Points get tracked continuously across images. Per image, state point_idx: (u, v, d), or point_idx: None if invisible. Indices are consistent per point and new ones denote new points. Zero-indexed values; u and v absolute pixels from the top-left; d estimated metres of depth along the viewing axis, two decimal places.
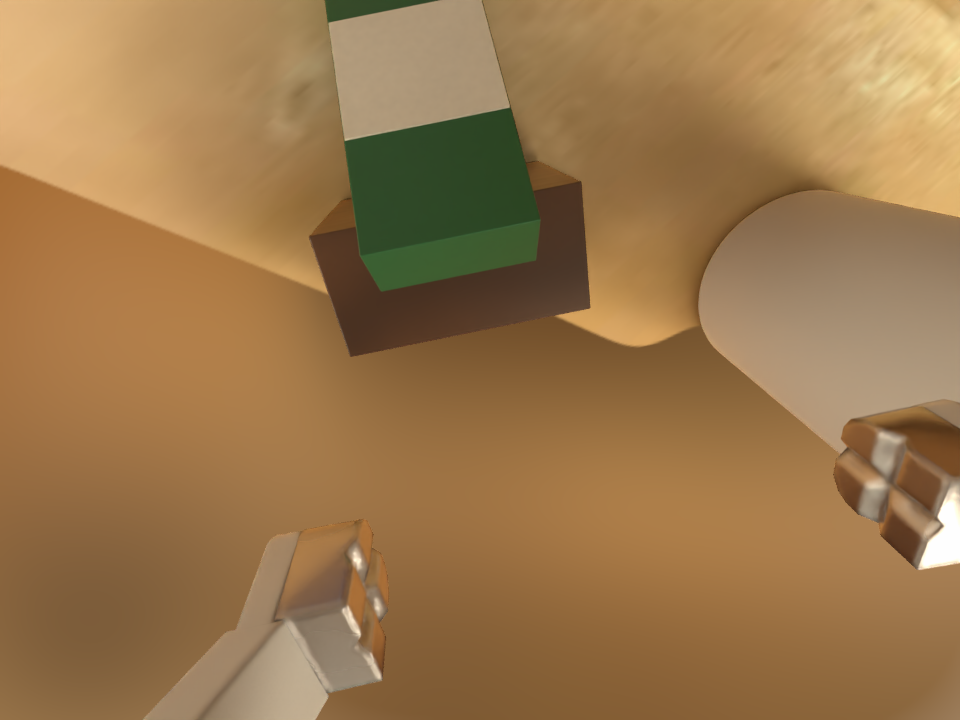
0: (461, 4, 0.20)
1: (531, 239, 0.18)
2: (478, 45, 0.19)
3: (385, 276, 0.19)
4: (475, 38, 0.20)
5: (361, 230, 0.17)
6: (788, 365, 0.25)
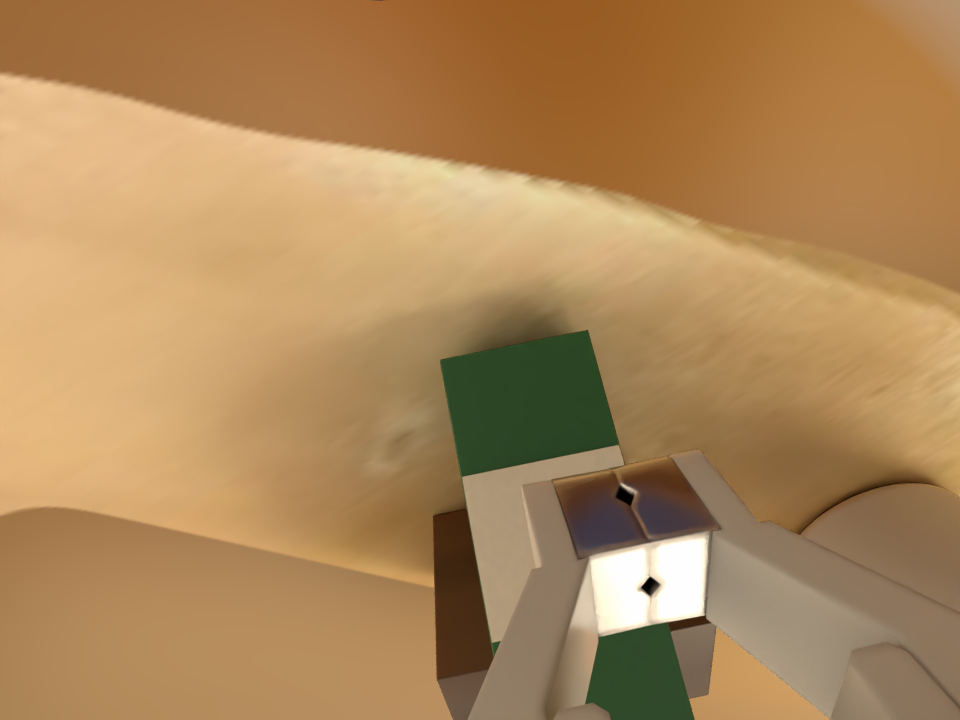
0: (601, 461, 0.19)
1: None
2: None
3: None
4: None
5: None
6: None
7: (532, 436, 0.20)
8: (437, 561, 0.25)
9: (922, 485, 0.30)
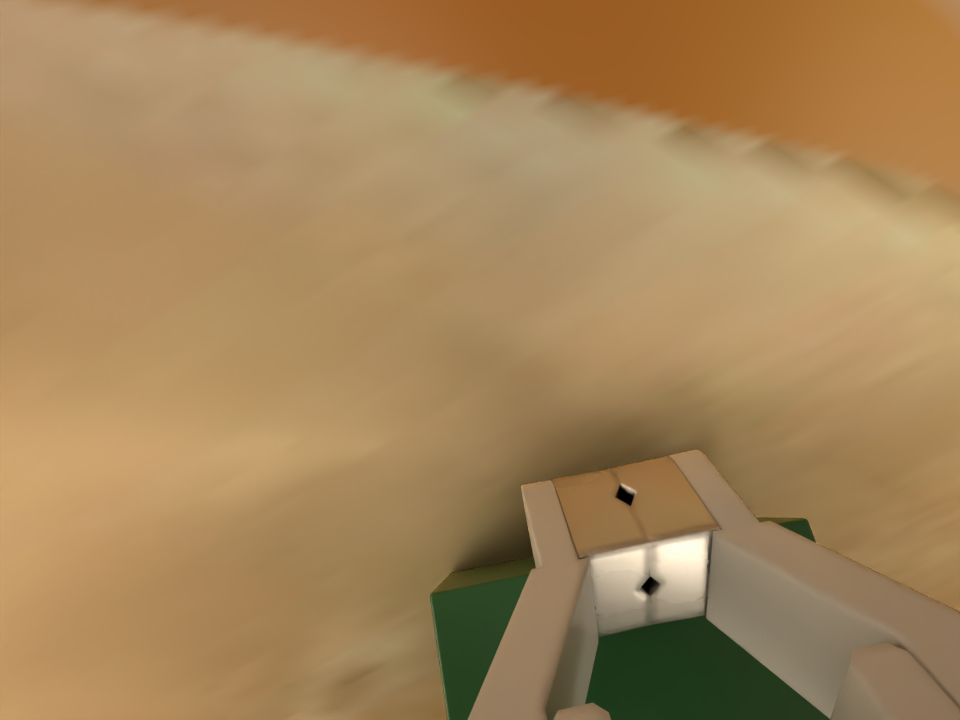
0: None
1: None
2: None
3: None
4: None
5: None
6: None
7: None
8: None
9: None
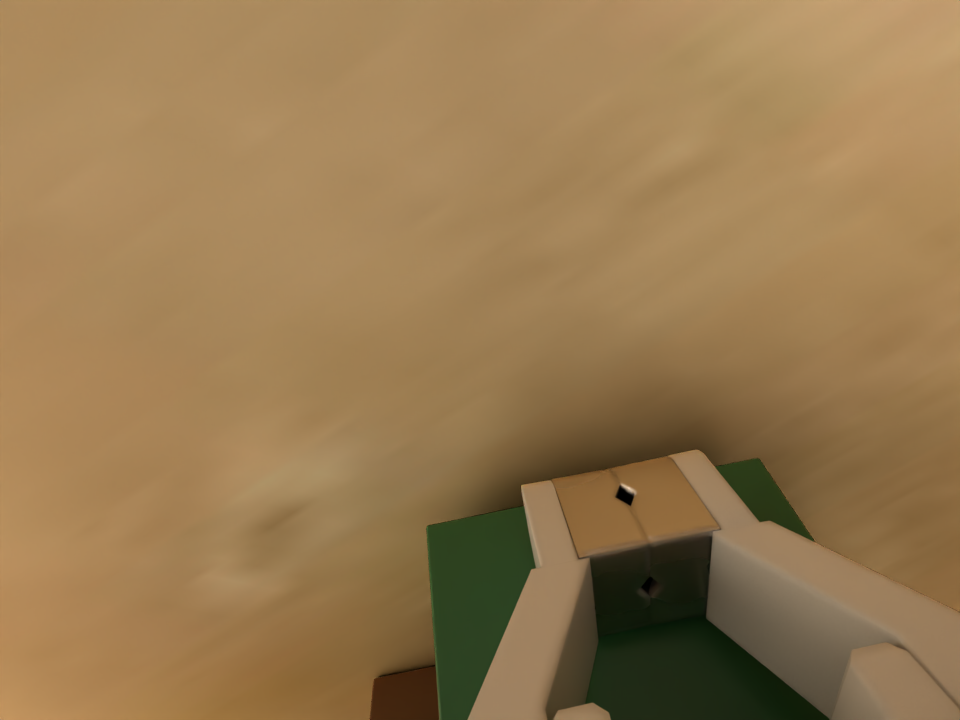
0: None
1: None
2: None
3: None
4: None
5: None
6: None
7: None
8: None
9: None
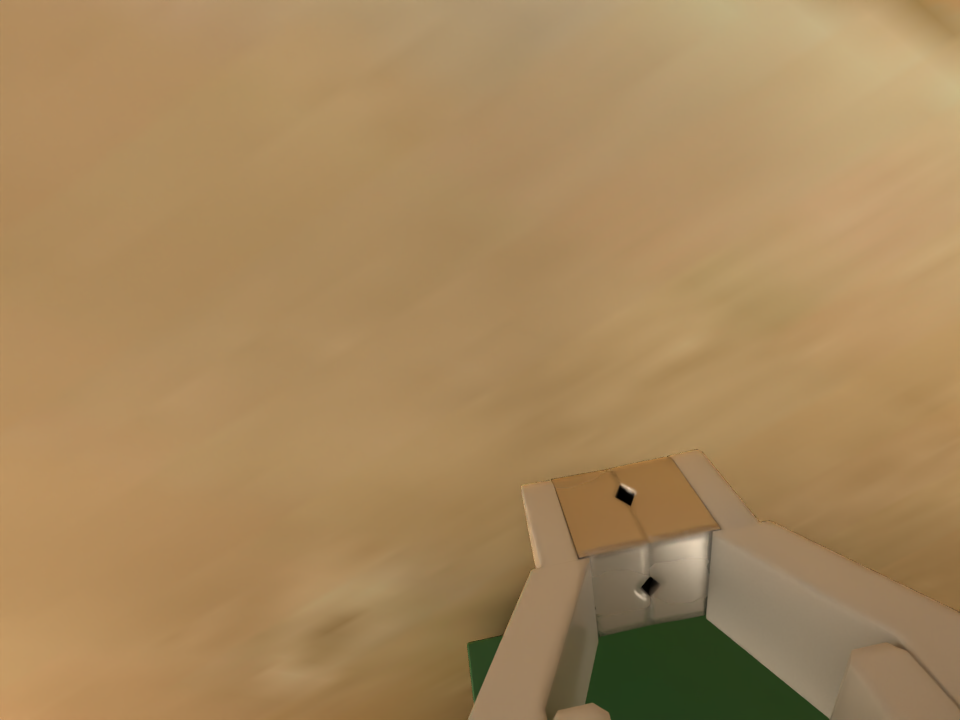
0: None
1: None
2: None
3: None
4: None
5: None
6: None
7: None
8: None
9: None
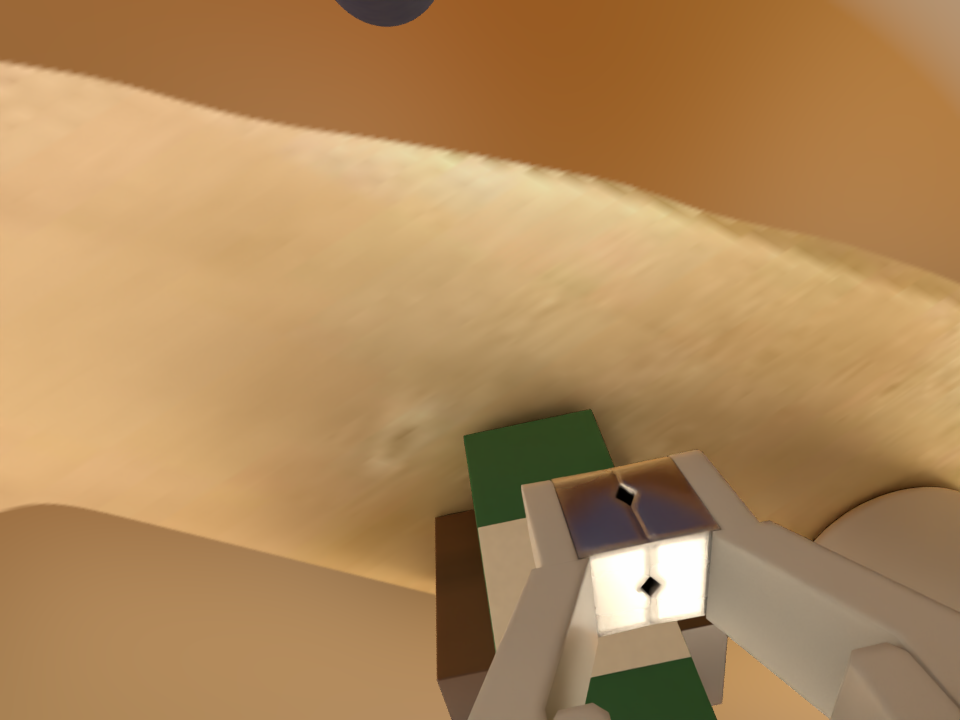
0: None
1: None
2: None
3: None
4: None
5: None
6: None
7: None
8: (439, 562, 0.25)
9: (940, 489, 0.29)
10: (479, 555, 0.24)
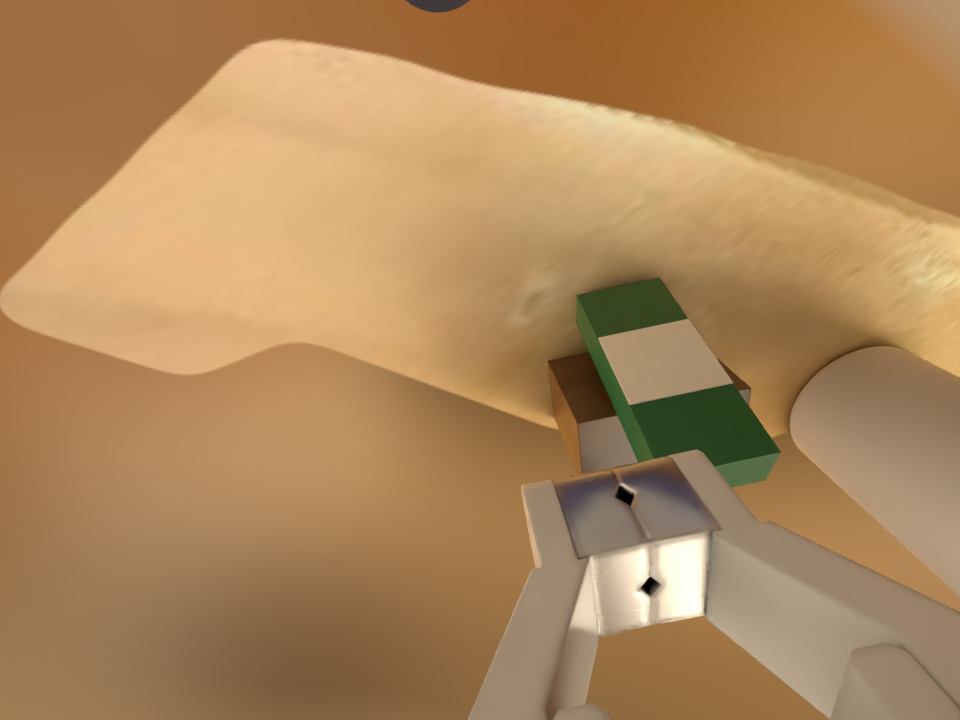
0: (679, 325, 0.33)
1: (769, 465, 0.27)
2: (699, 348, 0.32)
3: None
4: (695, 344, 0.32)
5: None
6: (872, 489, 0.37)
7: (636, 320, 0.34)
8: (559, 379, 0.38)
9: None
10: (585, 375, 0.38)
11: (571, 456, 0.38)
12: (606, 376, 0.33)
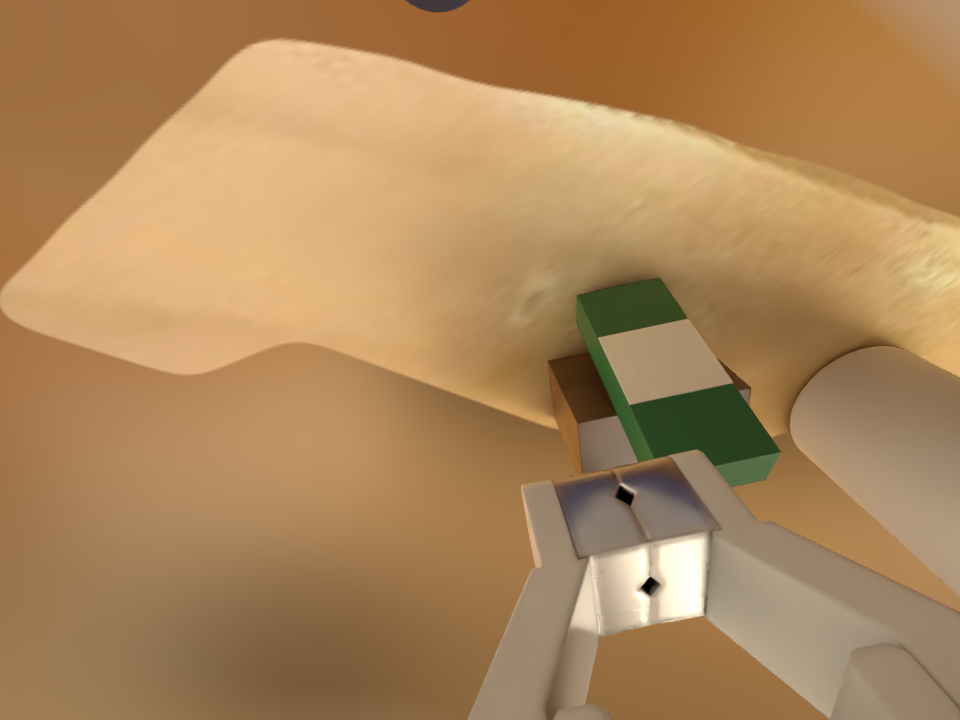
0: (680, 325, 0.33)
1: (769, 464, 0.27)
2: (699, 348, 0.32)
3: None
4: (695, 344, 0.32)
5: None
6: (872, 488, 0.37)
7: (636, 319, 0.34)
8: (559, 379, 0.38)
9: (889, 346, 0.42)
10: (585, 374, 0.38)
11: (571, 456, 0.38)
12: (606, 376, 0.33)
